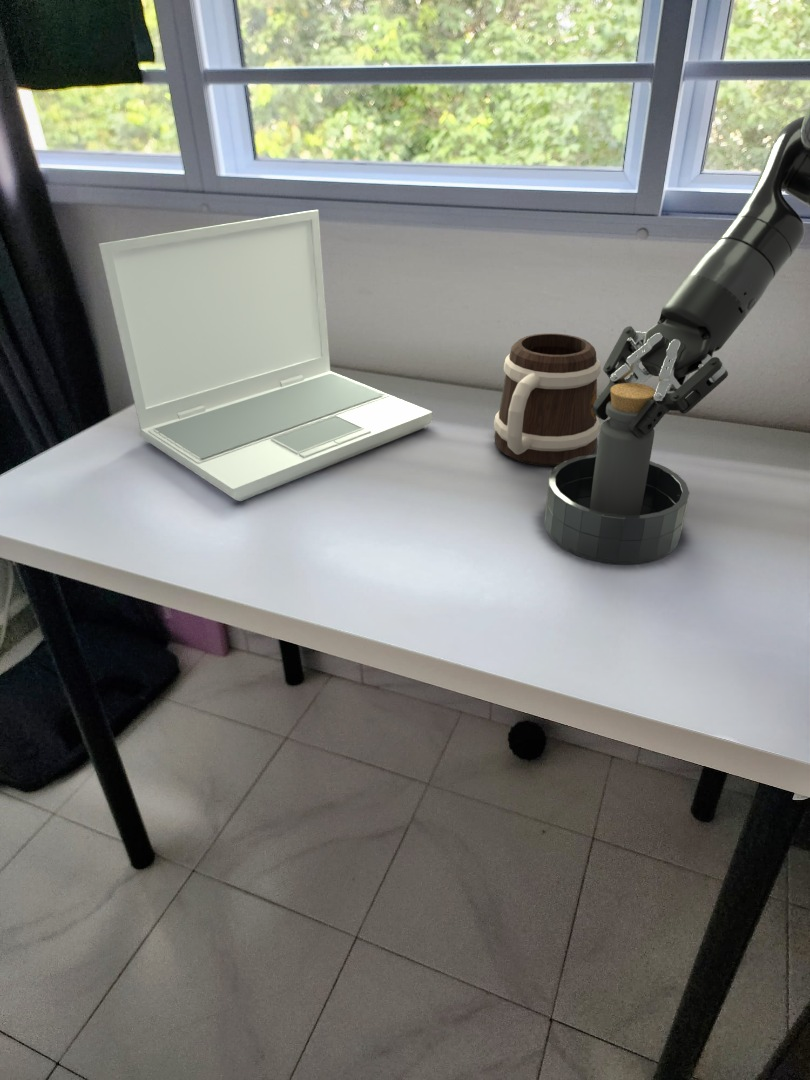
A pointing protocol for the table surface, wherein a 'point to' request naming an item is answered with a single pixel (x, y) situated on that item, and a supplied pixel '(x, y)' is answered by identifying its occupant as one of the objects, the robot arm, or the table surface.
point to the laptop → (242, 354)
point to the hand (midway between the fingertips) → (616, 424)
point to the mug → (548, 400)
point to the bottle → (622, 454)
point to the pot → (614, 516)
